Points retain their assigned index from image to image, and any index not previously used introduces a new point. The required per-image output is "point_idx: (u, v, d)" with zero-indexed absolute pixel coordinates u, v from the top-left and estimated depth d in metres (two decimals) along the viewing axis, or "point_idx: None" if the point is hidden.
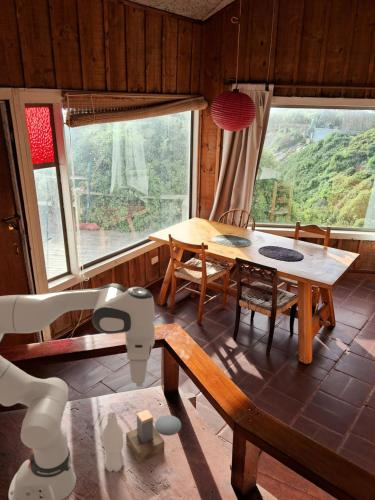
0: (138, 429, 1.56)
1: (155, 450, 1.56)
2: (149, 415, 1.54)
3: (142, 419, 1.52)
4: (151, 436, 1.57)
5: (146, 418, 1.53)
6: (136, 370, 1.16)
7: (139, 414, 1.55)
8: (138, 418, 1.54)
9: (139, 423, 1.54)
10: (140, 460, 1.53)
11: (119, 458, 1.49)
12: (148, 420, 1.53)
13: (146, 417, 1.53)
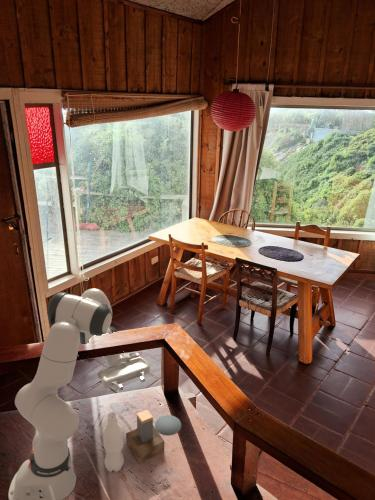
0: (138, 429, 1.56)
1: (155, 450, 1.56)
2: (149, 415, 1.54)
3: (142, 419, 1.52)
4: (151, 436, 1.57)
5: (146, 418, 1.53)
6: None
7: (139, 414, 1.55)
8: (138, 418, 1.54)
9: (139, 423, 1.54)
10: (140, 460, 1.53)
11: (119, 458, 1.49)
12: (148, 420, 1.53)
13: (146, 417, 1.53)
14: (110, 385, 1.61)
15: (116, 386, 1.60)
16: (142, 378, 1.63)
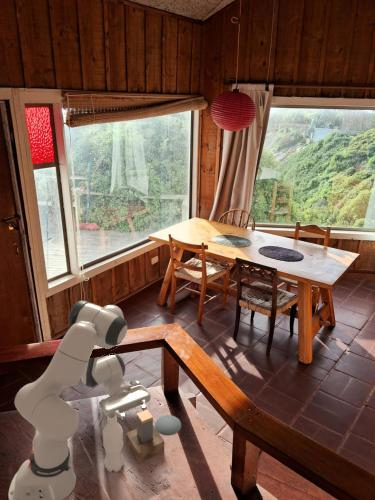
0: (138, 429, 1.56)
1: (155, 450, 1.56)
2: (149, 415, 1.54)
3: (142, 419, 1.52)
4: (151, 436, 1.57)
5: (146, 418, 1.53)
6: None
7: (139, 414, 1.55)
8: (138, 418, 1.54)
9: (139, 423, 1.54)
10: (140, 460, 1.53)
11: (119, 458, 1.49)
12: (148, 420, 1.53)
13: (146, 417, 1.53)
14: None
15: (118, 415, 1.62)
16: (144, 406, 1.66)
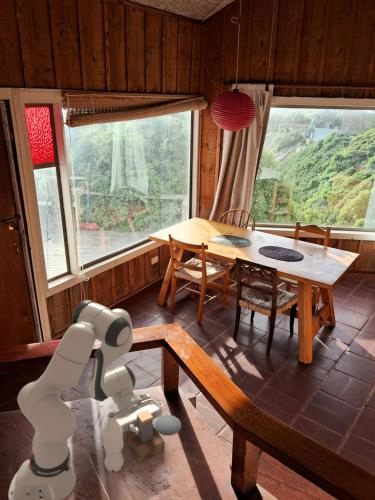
0: None
1: (155, 450, 1.56)
2: (149, 415, 1.54)
3: (142, 419, 1.52)
4: (151, 436, 1.57)
5: (146, 418, 1.53)
6: None
7: (139, 414, 1.55)
8: (138, 418, 1.54)
9: (139, 423, 1.54)
10: (140, 460, 1.53)
11: (119, 458, 1.49)
12: (148, 420, 1.53)
13: (146, 417, 1.53)
14: None
15: (133, 430, 1.56)
16: None
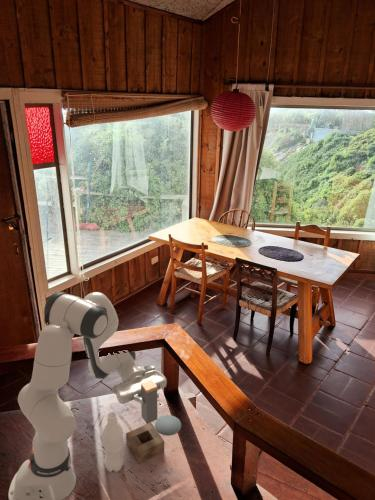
0: None
1: (155, 450, 1.56)
2: (153, 385, 1.51)
3: (146, 388, 1.49)
4: (155, 406, 1.54)
5: (150, 387, 1.50)
6: None
7: (143, 383, 1.52)
8: (142, 388, 1.51)
9: (143, 393, 1.51)
10: (140, 460, 1.53)
11: (119, 458, 1.49)
12: (152, 390, 1.50)
13: (150, 387, 1.50)
14: (126, 400, 1.53)
15: (137, 399, 1.53)
16: None
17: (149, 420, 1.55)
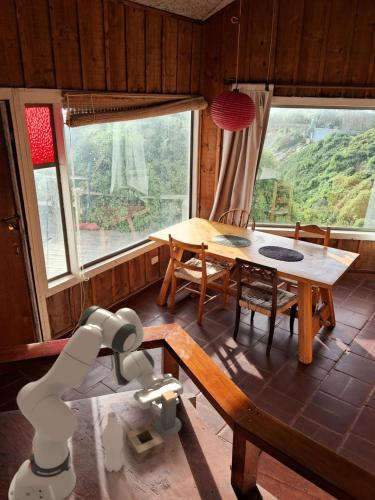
0: None
1: (155, 450, 1.56)
2: (173, 395, 1.65)
3: (167, 398, 1.63)
4: (174, 415, 1.67)
5: (170, 397, 1.63)
6: None
7: (163, 393, 1.65)
8: (163, 397, 1.65)
9: (164, 402, 1.65)
10: (140, 460, 1.53)
11: (119, 458, 1.49)
12: (172, 399, 1.63)
13: (170, 396, 1.64)
14: (147, 406, 1.66)
15: (155, 406, 1.65)
16: None
17: (168, 427, 1.68)
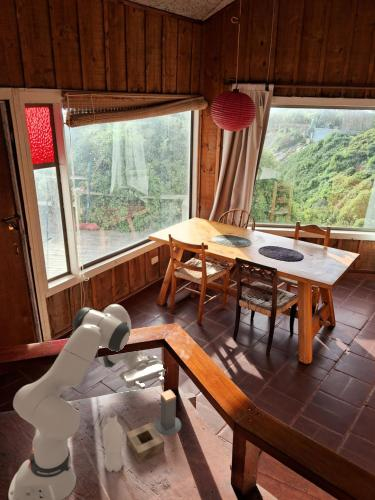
0: (162, 408, 1.67)
1: (155, 450, 1.56)
2: (172, 395, 1.65)
3: (166, 398, 1.63)
4: (174, 415, 1.67)
5: (170, 397, 1.63)
6: None
7: (162, 393, 1.65)
8: (162, 397, 1.65)
9: (163, 402, 1.65)
10: (140, 460, 1.53)
11: (119, 458, 1.49)
12: (171, 399, 1.63)
13: (169, 396, 1.64)
14: (132, 385, 1.75)
15: (138, 385, 1.74)
16: (161, 378, 1.78)
17: (168, 427, 1.68)
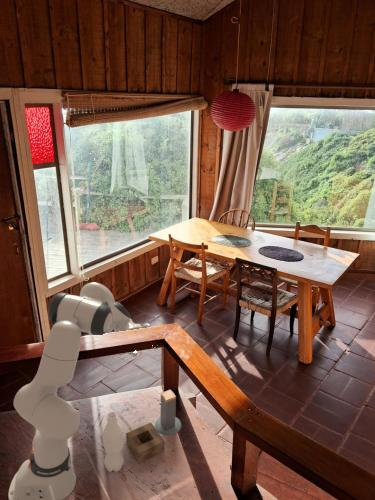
0: (162, 408, 1.67)
1: (155, 450, 1.56)
2: (172, 395, 1.65)
3: (166, 398, 1.63)
4: (174, 415, 1.67)
5: (170, 397, 1.63)
6: None
7: (162, 393, 1.65)
8: (162, 397, 1.65)
9: (163, 402, 1.65)
10: (140, 460, 1.53)
11: (119, 458, 1.49)
12: (171, 399, 1.63)
13: (169, 396, 1.64)
14: None
15: (130, 352, 1.65)
16: None
17: (168, 427, 1.68)
